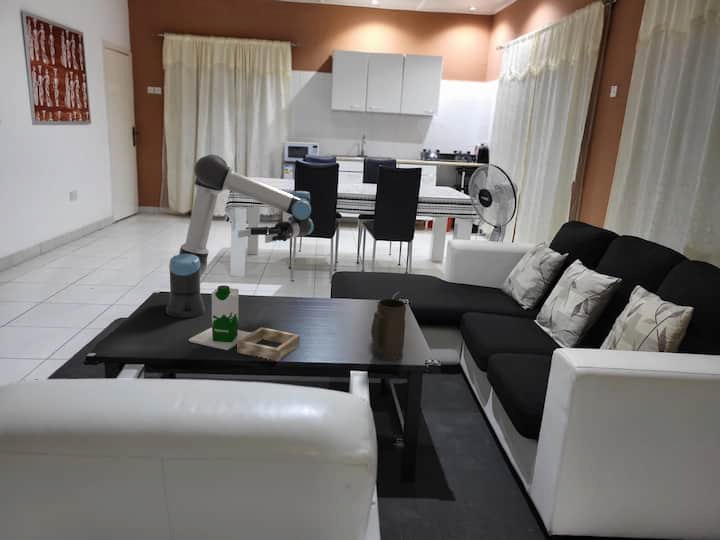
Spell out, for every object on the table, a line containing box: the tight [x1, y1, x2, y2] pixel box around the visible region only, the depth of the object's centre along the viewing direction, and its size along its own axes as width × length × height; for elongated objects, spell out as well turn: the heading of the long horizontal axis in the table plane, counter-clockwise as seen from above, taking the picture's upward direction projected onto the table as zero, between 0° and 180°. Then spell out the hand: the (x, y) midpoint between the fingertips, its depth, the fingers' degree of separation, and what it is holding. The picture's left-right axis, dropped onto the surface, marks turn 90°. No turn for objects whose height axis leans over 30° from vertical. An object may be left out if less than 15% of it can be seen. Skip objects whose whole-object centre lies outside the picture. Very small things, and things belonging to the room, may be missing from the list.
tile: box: [188, 326, 252, 351], centre depth 192 cm, size 16×16×1 cm
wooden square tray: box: [236, 326, 301, 362], centre depth 185 cm, size 16×16×4 cm
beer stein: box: [370, 298, 407, 361], centre depth 183 cm, size 15×11×20 cm
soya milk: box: [210, 284, 240, 342], centre depth 188 cm, size 9×9×20 cm
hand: (252, 236), depth 202 cm, fingers open, 13 cm apart
